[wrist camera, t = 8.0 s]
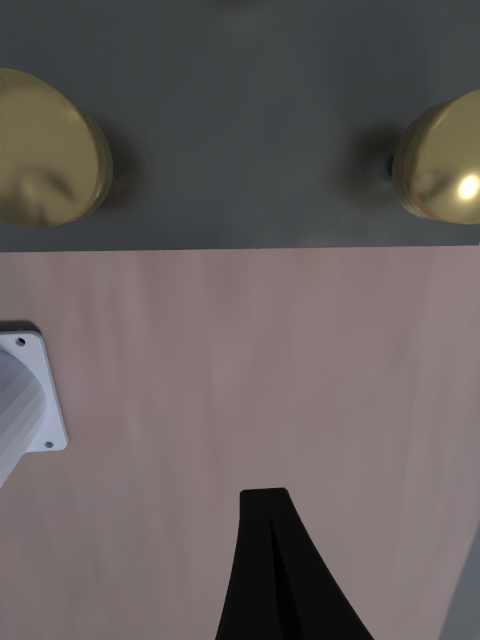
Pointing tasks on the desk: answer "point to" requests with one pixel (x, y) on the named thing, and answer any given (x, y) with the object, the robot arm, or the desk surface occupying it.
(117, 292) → the desk surface
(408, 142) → the outer brass knob
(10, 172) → the inner brass knob
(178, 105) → the plate
